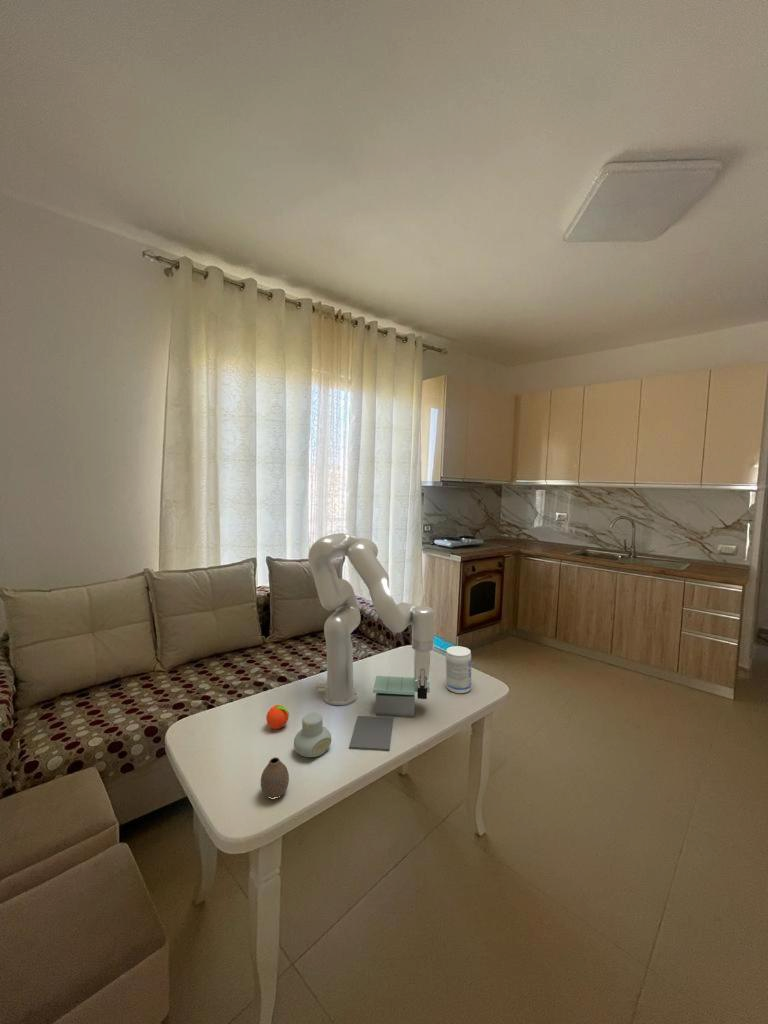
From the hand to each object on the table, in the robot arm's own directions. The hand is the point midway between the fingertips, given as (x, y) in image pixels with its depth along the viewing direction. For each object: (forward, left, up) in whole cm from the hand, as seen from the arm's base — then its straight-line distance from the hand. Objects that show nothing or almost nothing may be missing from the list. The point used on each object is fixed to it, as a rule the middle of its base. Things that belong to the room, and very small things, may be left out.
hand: (422, 694), depth 137 cm
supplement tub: (+14, +16, -6) cm, 22 cm away
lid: (-7, 0, +2) cm, 7 cm away
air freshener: (-32, -24, -6) cm, 40 cm away
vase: (-37, -41, -6) cm, 55 cm away
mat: (-16, -14, -6) cm, 22 cm away
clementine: (-46, -14, -6) cm, 48 cm away
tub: (-9, 0, -6) cm, 11 cm away
